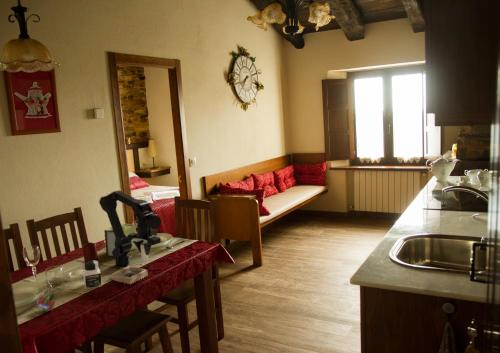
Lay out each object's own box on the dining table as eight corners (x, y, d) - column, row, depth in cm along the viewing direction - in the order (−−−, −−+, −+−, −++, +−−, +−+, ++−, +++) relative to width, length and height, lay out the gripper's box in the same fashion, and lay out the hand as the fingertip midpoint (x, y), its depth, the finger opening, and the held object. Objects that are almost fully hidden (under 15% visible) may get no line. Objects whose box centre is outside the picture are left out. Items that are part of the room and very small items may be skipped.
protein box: (137, 249, 254) (135, 224, 251) (119, 257, 240) (118, 231, 237) (123, 247, 258) (122, 222, 255) (105, 255, 244) (103, 229, 242)
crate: (130, 284, 203) (129, 278, 203) (112, 279, 209) (112, 273, 209) (147, 276, 214) (147, 270, 213) (130, 271, 220) (130, 265, 219)
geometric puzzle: (62, 301, 182) (49, 288, 180) (55, 309, 175) (42, 295, 174) (49, 311, 182) (37, 298, 181) (42, 319, 175) (29, 305, 174)
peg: (140, 262, 218) (139, 245, 216) (142, 259, 221) (141, 243, 220) (147, 262, 218) (146, 245, 216) (149, 259, 221) (148, 243, 220)
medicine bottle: (86, 289, 199) (84, 265, 197) (84, 284, 205) (82, 260, 203) (101, 286, 202) (100, 262, 200) (99, 281, 208) (97, 258, 206)
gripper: (167, 224, 218) (168, 252, 221) (141, 219, 228) (142, 247, 230) (152, 229, 209) (153, 259, 212) (125, 224, 218) (127, 253, 221)
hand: (144, 254), depth 219 cm, fingers closed on peg, 4 cm apart
